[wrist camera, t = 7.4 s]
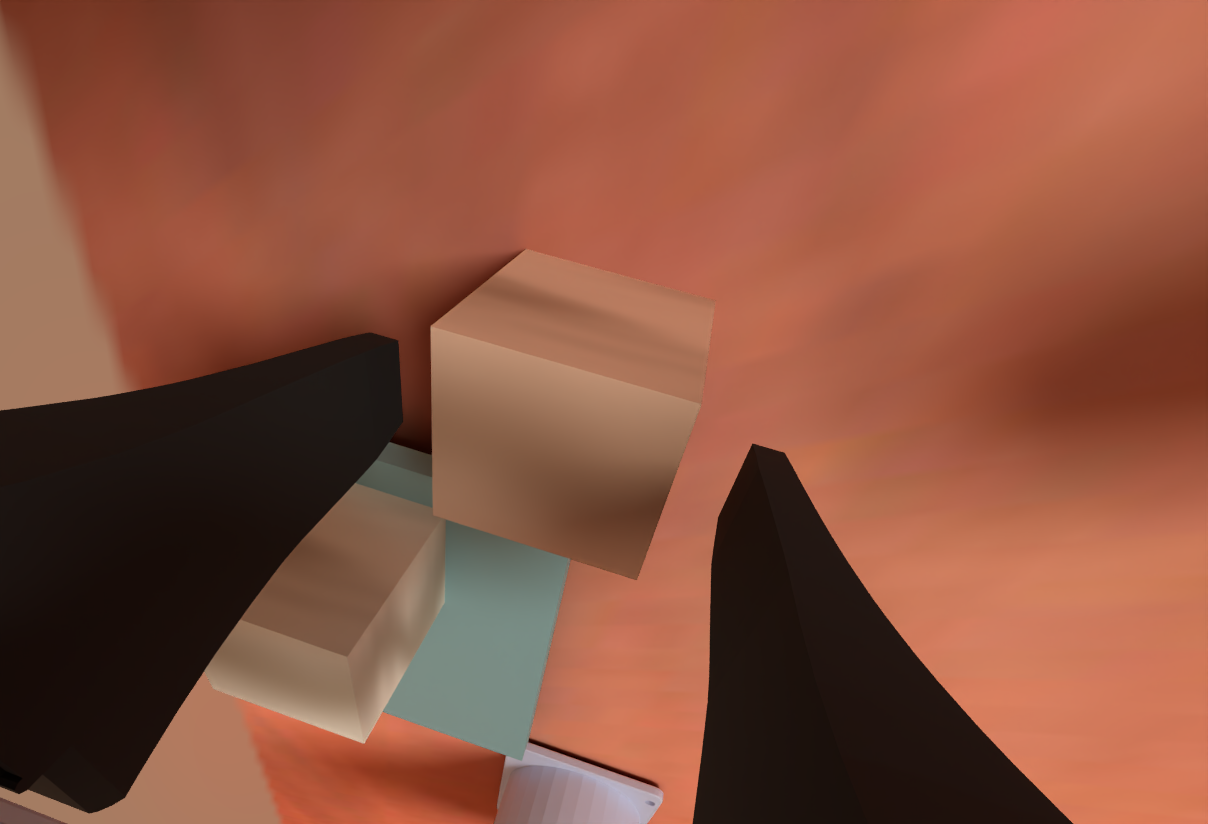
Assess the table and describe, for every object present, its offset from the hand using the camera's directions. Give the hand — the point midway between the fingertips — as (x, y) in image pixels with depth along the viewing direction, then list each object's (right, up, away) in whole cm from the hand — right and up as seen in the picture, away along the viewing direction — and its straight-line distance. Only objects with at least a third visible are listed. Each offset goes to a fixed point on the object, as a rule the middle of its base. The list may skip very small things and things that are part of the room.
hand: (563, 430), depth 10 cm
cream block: (-6, -4, +6) cm, 9 cm away
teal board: (-7, -6, +10) cm, 14 cm away
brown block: (+1, +2, +3) cm, 3 cm away
